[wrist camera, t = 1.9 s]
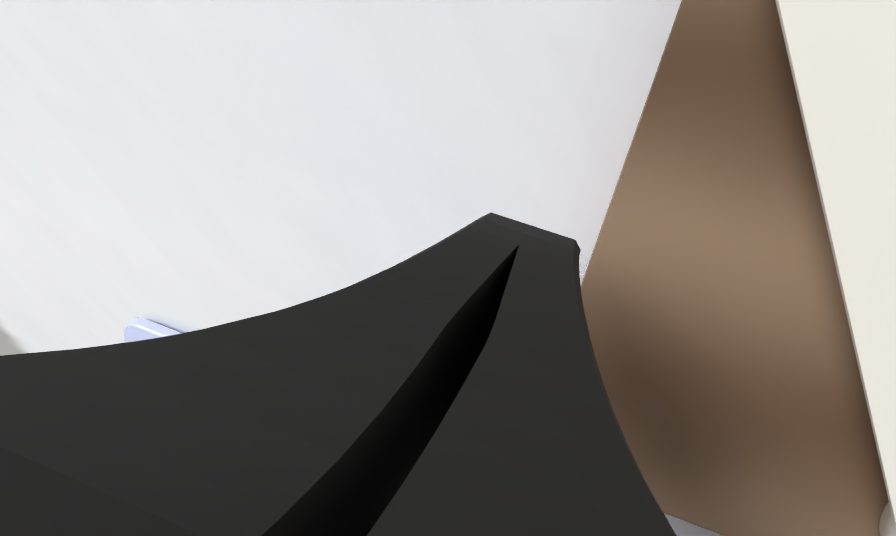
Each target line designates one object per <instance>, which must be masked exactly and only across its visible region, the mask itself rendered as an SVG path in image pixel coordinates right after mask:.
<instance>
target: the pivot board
mask: <svg viewBox="0 0 896 536" xmlns="http://www.w3.org/2000/svg"><path fill="white" fill-rule="evenodd" d="M581 295H582V301H583V307H584V312H585V316H586V321H587V326H588V330H589V335H590V339H591V343H592V347H593V351H594V354H595V358H596V361H597V364H598V367H599V371H600V374H601V377H602V380H603V383H604V386H605V389H606V392H607V395H608V398H609V400H610V403H611V406H612V408H613V411H614V414H615V416H616V418H617V421H618V423H619V425H620V428H621V430H622V433H623V435H624V437H625V440H626V442H627V444H628V446H629V448H630V450H631V452H632V455H633V457H634V459H635V461H636V463H637V465H638V467H639V469H640V471H641V473H642V475H643V478H644V479H645V481H646V483H647V485H648V487H649V489H650V490H651V492H652V494H653V496H654V497H655V499H656V501H657V503H658V504H659V506H660V508H661V510H662V511H663V512H664V513H666V514H669V515H671V516H674V517H677V518H679V519H682V520H684V521H687V522H690V523H692V524H695V525H697V526H700V527H703V528H705V529H708V530H710V531H713V532H716V533H718V534H721V535H724V536H880V531H879V524H880V518H881V515H882V512H883V510H884V508H885V506H886V504H887V503H888V502H889V500H888V495H887V491H886V486H885V482H884V478H883V473H882V469H881V464H880V460H879V456H878V451H877V447H876V442H875V438H874V434H873V429H872V425H871V420H870V416H869V411H868V407H867V403H866V398H865V394H864V389H863V385H862V381H861V376H860V372H859V367H858V363H857V359H856V354H855V350H854V345H853V341H852V337H851V332H850V328H849V323H848V319H847V315H846V310H845V306H844V301H843V297H842V293H841V288H840V284H839V279H838V275H837V270H836V266H835V262H834V257H833V253H832V248H831V244H830V240H829V235H828V231H827V226H826V222H825V218H824V213H823V209H822V204H821V200H820V196H819V191H818V187H817V182H816V178H815V174H814V169H813V165H812V160H811V156H810V151H809V147H808V143H807V138H806V134H805V129H804V125H803V121H802V116H801V112H800V107H799V103H798V99H797V94H796V90H795V85H794V81H793V77H792V72H791V68H790V63H789V59H788V55H787V50H786V46H785V41H784V37H783V32H782V28H781V24H780V19H779V15H778V10H777V6H776V2H775V0H682V1H681V4H680V7H679V10H678V13H677V16H676V18H675V21H674V24H673V27H672V30H671V33H670V35H669V38H668V41H667V44H666V47H665V50H664V52H663V55H662V58H661V61H660V64H659V67H658V69H657V72H656V75H655V78H654V81H653V84H652V86H651V89H650V92H649V95H648V98H647V101H646V103H645V106H644V109H643V112H642V115H641V118H640V120H639V123H638V126H637V129H636V132H635V135H634V137H633V140H632V143H631V146H630V149H629V152H628V154H627V157H626V160H625V163H624V166H623V169H622V171H621V174H620V177H619V180H618V183H617V185H616V188H615V191H614V194H613V197H612V200H611V202H610V205H609V208H608V211H607V214H606V217H605V219H604V222H603V225H602V228H601V231H600V234H599V236H598V239H597V242H596V245H595V248H594V251H593V253H592V256H591V259H590V262H589V265H588V268H587V270H586V273H585V276H584V279H583V282H582V285H581Z"/></svg>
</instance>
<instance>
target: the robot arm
mask: <svg viewBox="0 0 896 536" xmlns="http://www.w3.org/2000/svg"><path fill="white" fill-rule="evenodd" d="M579 254H580V248H579V246H578V244H577V242H576V240H574V239H571V238H568V237H565V236H561V235H558V234H555V233H552V232H549V231H546V230H543V229H540V228H537V227H534V226H531V225H528V224H525V223H521V222H518V221H515V220H512V219H509V218H506V217H503V216H500V215H497V214H494V213H489V214H487V215H485V216H483V217H481V218H479V219H478V220H476V221H474V222H472V223H471V224H469V225H467V226H466V227H464V228H462V229H461V230H459V231H457V232H456V233H454V234H452V235H451V236H449V237H447V238H445V239H444V240H442V241H440V242H438V243H437V244H435V245H433V246H431V247H429V248H427V249H425V250H424V251H422V252H420V253H418V254H416V255H414V256H412V257H410V258H409V259H407V260H405V261H403V262H401V263H399V264H397V265H395V266H393V267H391V268H389V269H387V270H384V271H382V272H380V273H378V274H376V275H373V276H371V277H369V278H367V279H364V280H362V281H360V282H358V283H356V284H353V285H351V286H349V287H346V288H344V289H341V290H339V291H336V292H333V293H331V294H328V295H325V296H322V297H319V298H316V299H313V300H310V301H307V302H304V303H301V304H298V305H295V306H292V307H289V308H286V309H282V310H279V311H275V312H272V313H267V314H263V315H259V316H255V317H251V318H247V319H243V320H239V321H235V322H231V323H227V324H223V325H219V326H214V327H210V328H206V329H202V330H197V331H192V332H187V333H180V332H178V331H175V330H173V329H170V328H167V327H165V326H162V325H160V324H157V323H154V322H152V321H149V320H147V319H143V318H134V319H133V320H132V321H131V322H129V323H128V324H127V325H126V326H125V327H124V338H125V343H120V344H113V345H106V346H98V347H90V348H82V349H73V350H61V351H50V352H38V353H27V354H16V355H5V356H0V536H676V534H675V532H674V531H673V529H672V527H671V525H670V524H669V522H668V520H667V518H666V517H665V515H664V513H663V511H662V510H661V508H660V506H659V504H658V503H657V501H656V499H655V497H654V496H653V494H652V492H651V490H650V489H649V487H648V485H647V483H646V481H645V479H644V478H643V475H642V473H641V471H640V469H639V467H638V465H637V463H636V461H635V459H634V457H633V455H632V452H631V450H630V448H629V446H628V444H627V442H626V440H625V437H624V435H623V433H622V430H621V428H620V425H619V423H618V421H617V418H616V416H615V414H614V411H613V408H612V406H611V403H610V400H609V398H608V395H607V392H606V389H605V386H604V383H603V380H602V377H601V374H600V371H599V367H598V364H597V361H596V358H595V354H594V351H593V347H592V343H591V339H590V335H589V330H588V326H587V321H586V316H585V312H584V307H583V301H582V295H581V286H580V277H579Z"/></svg>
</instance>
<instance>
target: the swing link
mask: <svg viewBox="0 0 896 536" xmlns="http://www.w3.org/2000/svg"><path fill="white" fill-rule="evenodd" d="M775 2H776V6H777V10H778V15H779V19H780V24H781V28H782V32H783V37H784V41H785V46H786V50H787V55H788V59H789V63H790V68H791V72H792V77H793V81H794V85H795V90H796V94H797V99H798V103H799V107H800V112H801V116H802V121H803V125H804V129H805V134H806V138H807V143H808V147H809V151H810V156H811V160H812V165H813V169H814V174H815V178H816V182H817V187H818V191H819V196H820V200H821V204H822V209H823V213H824V218H825V222H826V226H827V231H828V235H829V240H830V244H831V248H832V253H833V257H834V262H835V266H836V270H837V275H838V279H839V284H840V288H841V293H842V297H843V301H844V306H845V310H846V315H847V319H848V323H849V328H850V332H851V337H852V341H853V345H854V350H855V354H856V359H857V363H858V367H859V372H860V376H861V381H862V385H863V389H864V394H865V398H866V403H867V407H868V411H869V416H870V420H871V425H872V429H873V434H874V438H875V442H876V447H877V451H878V456H879V460H880V464H881V469H882V473H883V478H884V482H885V486H886V491H887V495H888V500H889V502H888V503H887V504H886V506H885V508H884V510H883V512H882V515H881V518H880V524H879V531H880V536H896V0H775Z"/></svg>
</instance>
